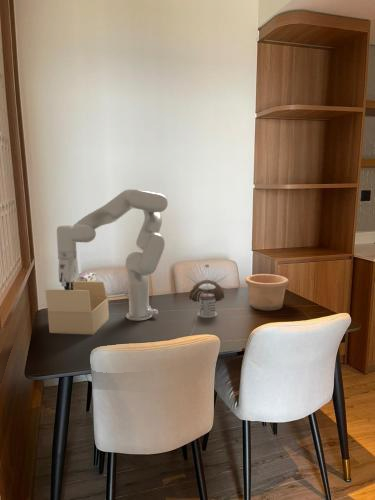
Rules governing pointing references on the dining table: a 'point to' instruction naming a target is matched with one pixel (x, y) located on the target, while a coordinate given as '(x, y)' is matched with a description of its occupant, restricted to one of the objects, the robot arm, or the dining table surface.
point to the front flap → (68, 300)
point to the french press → (207, 301)
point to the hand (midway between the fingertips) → (69, 296)
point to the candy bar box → (88, 277)
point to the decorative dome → (217, 291)
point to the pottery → (266, 291)
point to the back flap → (91, 288)
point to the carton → (80, 319)
